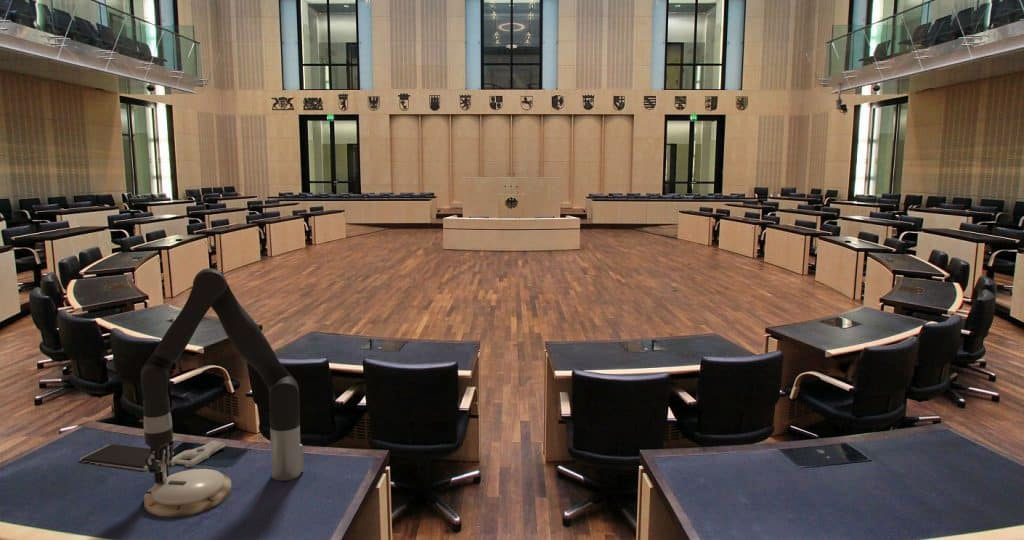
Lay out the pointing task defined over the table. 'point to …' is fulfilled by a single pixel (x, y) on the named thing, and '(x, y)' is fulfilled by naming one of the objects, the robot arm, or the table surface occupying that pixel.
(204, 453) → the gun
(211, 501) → the dial base
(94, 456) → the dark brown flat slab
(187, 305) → the robot arm
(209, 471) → the dial
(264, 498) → the table surface
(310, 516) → the table surface
